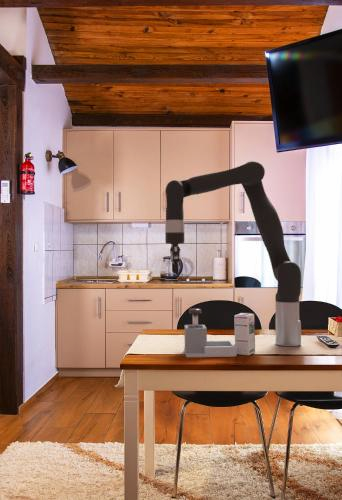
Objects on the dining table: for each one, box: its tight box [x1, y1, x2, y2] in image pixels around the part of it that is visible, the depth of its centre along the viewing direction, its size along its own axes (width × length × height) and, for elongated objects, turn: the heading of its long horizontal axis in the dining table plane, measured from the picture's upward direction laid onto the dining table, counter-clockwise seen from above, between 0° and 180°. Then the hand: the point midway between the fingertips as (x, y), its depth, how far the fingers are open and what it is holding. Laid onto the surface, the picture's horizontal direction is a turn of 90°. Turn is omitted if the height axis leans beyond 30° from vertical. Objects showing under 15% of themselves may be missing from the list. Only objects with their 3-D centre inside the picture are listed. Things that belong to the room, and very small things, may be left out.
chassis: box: [183, 324, 238, 358], centre depth 175 cm, size 18×11×10 cm, turn 92°
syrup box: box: [233, 312, 256, 356], centre depth 175 cm, size 6×6×14 cm
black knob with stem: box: [188, 307, 202, 328], centre depth 175 cm, size 4×4×8 cm
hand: (175, 272), depth 188 cm, fingers open, 8 cm apart
